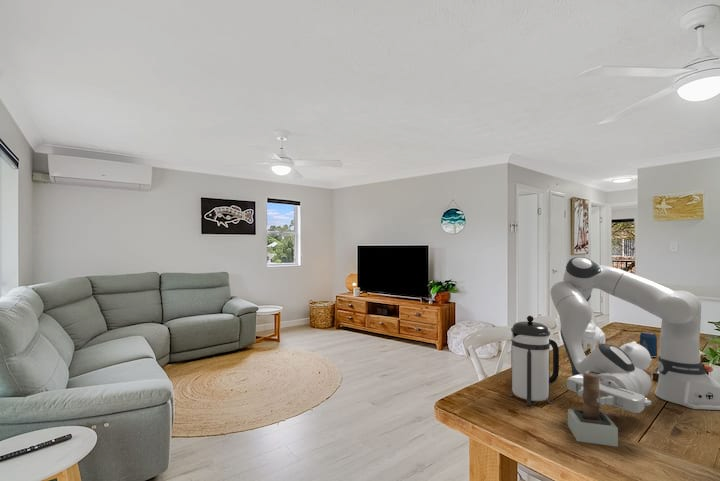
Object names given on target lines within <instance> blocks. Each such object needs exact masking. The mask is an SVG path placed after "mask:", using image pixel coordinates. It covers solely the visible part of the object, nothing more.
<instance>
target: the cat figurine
mask: <svg viewBox="0 0 720 481" xmlns="http://www.w3.org/2000/svg"><path fill="white" fill-rule="evenodd" d="M581 342H582V347H583V350H585V351H588V347H589V346H588V345H590V351H589V353H590V352H592V351H593V350H594V349H595V348H596V347H597V344H598V345H600V344H606V333H605V332H604V331H603V330H602V329H601V327H599V326H597V324H596V323H591V322H590V323H589V324H588V326H587V328H586V330H585V332H584V334H583V337H582V341H581Z"/></svg>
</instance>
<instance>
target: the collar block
mask: <svg viewBox="0 0 720 481" xmlns="http://www.w3.org/2000/svg"><path fill="white" fill-rule="evenodd" d="M567 426H568V428H569V430H570V432H571V433H572V436H574V438H575V440H576V442H578V443H579V442H580V443H588V444H595V445H601V446H608V447H609V446H611V447H615V448H616V447H617V448H618V447H619V428H618V427H617V426H616V424H615V422H613V421H612V420H611V419H610V417H609V415H607V414H606V413H605V412H601V411H599V420H590V419H584V418H583V409H576V408H567Z"/></svg>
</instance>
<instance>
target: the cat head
mask: <svg viewBox="0 0 720 481" xmlns="http://www.w3.org/2000/svg"><path fill="white" fill-rule="evenodd" d="M619 348H620V349H621V350H622V351H624V352H625V353H626V354H627V355H628V356H629V358H630V359H631V361H632V362H633V364H634V366H635V367H637V368H639V369H642V370H643V371H645V370H647V369H648V368H649V367H650V365H651V364H652V361H653V358H651V356H650V354H649V352H648V351H647V349H646V348H644V347H643V346H641V345H640V343H637V341H635V340H634V341H631V342H628V343H623V344H622V345H621V346H619Z"/></svg>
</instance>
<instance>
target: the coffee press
mask: <svg viewBox="0 0 720 481" xmlns="http://www.w3.org/2000/svg"><path fill="white" fill-rule="evenodd" d="M526 320H527V321H518V322H515V323H514V324H513V326H512V327H511V328H510V330H511V331H510V332H511V347H510V348H511V349H510V350H511V353H510V354H511V376H510V377H511V378H510V379H511V380H510V381H511V382H510V384H511V386H510V387H511V388H510V389H509V391H507V395H508V397H509V398H511V397H513V396H514V395H515V396H516V397H517V398H520V399H522V400H526V407H530V408H532V401H533V402H542V401H546V402H548V403H549V405H550V404H551V405H552V404H554V398H553V397H552V396H551V393H550V392H551V390H550V384H552V383H555V381H557V379H558V377H559V371H560V354H559V352H560V351H559V346H558V344H557V342H556V341H555V340H553V339H550V336H551V331H550V330H549V329H548V327H547V326H546V325H545V324H543V323H540V322H535V321H534V317H533V316H532V315H528V316H527V317H526ZM550 346H551V347H552V375H551V374H550V370H551V369H550V362H551V360H550V358H551V357H550V354H551V353H550V350H551V349H550ZM550 375H551V376H550ZM511 391H512V392H513V393H512V394H510V392H511ZM548 398H550V399H551V401H550V400H549V399H548Z"/></svg>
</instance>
